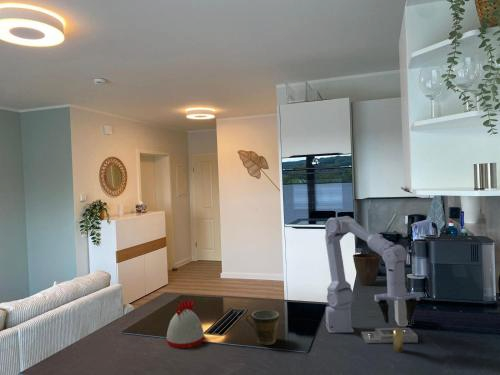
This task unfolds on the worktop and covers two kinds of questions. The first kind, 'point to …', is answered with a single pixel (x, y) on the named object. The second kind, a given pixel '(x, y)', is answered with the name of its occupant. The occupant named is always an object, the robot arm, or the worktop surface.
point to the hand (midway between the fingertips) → (397, 321)
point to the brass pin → (398, 340)
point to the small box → (401, 313)
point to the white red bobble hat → (185, 327)
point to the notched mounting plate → (388, 336)
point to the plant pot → (367, 267)
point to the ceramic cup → (265, 325)
